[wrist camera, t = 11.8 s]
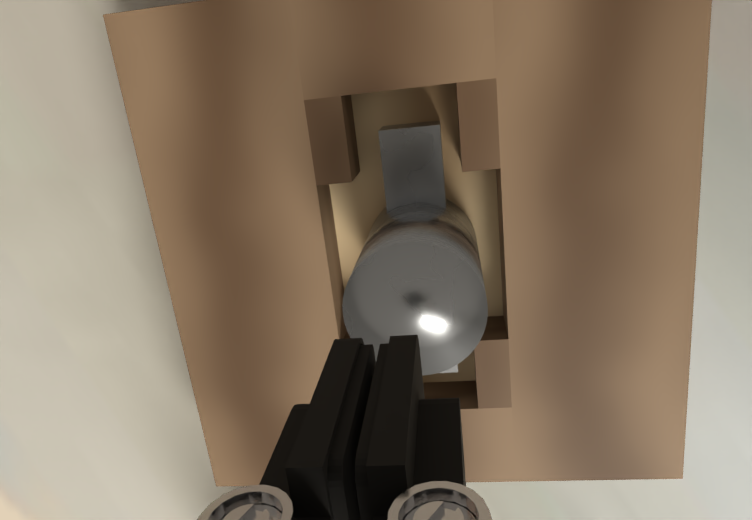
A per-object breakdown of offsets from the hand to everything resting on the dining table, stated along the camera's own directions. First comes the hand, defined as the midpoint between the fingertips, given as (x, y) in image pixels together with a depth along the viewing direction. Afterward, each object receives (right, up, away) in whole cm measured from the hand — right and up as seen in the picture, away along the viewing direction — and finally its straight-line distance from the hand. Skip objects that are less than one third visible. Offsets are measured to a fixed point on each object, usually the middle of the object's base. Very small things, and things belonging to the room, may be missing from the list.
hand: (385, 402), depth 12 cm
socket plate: (+1, +4, +10) cm, 11 cm away
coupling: (+1, +3, +10) cm, 11 cm away
